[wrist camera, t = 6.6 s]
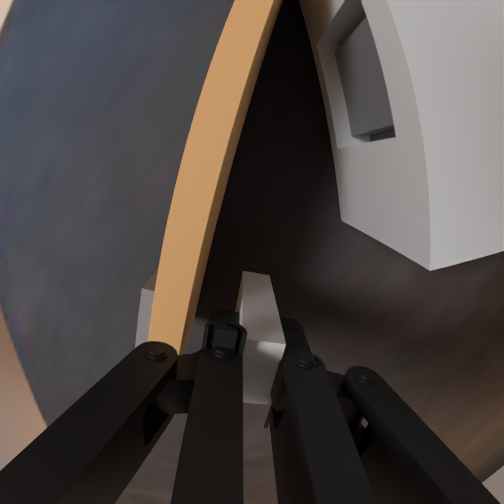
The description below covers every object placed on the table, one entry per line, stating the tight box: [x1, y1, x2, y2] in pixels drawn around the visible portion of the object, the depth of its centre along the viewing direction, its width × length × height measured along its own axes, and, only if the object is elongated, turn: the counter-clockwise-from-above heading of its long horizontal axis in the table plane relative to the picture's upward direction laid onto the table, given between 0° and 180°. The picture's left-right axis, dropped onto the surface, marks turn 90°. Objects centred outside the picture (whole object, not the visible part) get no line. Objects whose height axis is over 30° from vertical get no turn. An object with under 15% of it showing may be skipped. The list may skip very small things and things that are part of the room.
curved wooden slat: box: [135, 0, 283, 355], centre depth 11 cm, size 22×2×7 cm, turn 165°
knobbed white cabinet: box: [299, 0, 504, 271], centre depth 10 cm, size 15×12×10 cm
